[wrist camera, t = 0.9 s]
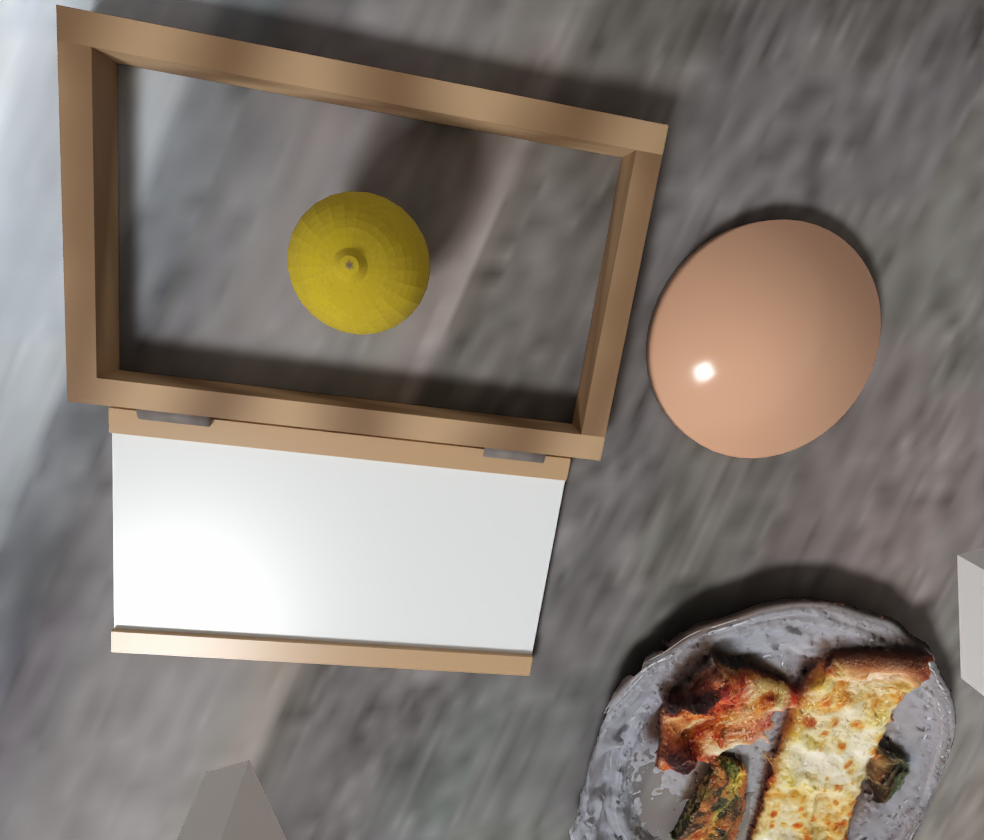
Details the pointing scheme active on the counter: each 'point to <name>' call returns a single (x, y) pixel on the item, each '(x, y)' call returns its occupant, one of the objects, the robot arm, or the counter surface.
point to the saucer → (763, 338)
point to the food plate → (777, 729)
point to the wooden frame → (114, 40)
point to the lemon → (358, 262)
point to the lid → (327, 546)
